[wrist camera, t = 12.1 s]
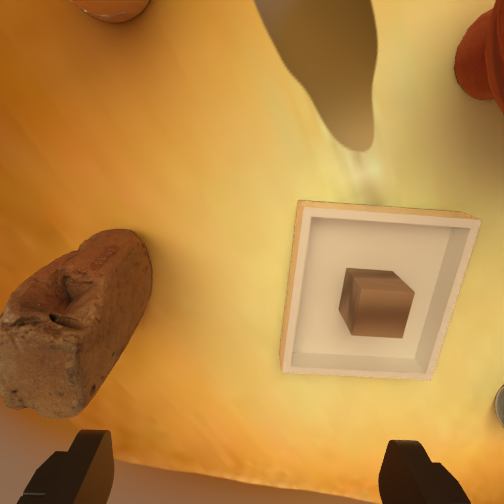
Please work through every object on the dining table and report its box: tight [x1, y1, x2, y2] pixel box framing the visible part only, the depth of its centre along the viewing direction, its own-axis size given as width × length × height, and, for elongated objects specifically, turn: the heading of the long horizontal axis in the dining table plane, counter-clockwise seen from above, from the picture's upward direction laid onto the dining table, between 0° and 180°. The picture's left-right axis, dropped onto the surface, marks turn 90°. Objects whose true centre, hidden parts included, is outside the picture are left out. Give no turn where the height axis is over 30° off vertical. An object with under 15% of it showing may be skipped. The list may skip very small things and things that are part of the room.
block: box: [0, 229, 152, 418], centre depth 34 cm, size 11×8×20 cm
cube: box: [338, 268, 415, 338], centre depth 41 cm, size 6×6×6 cm
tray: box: [279, 200, 482, 380], centre depth 43 cm, size 22×20×4 cm
